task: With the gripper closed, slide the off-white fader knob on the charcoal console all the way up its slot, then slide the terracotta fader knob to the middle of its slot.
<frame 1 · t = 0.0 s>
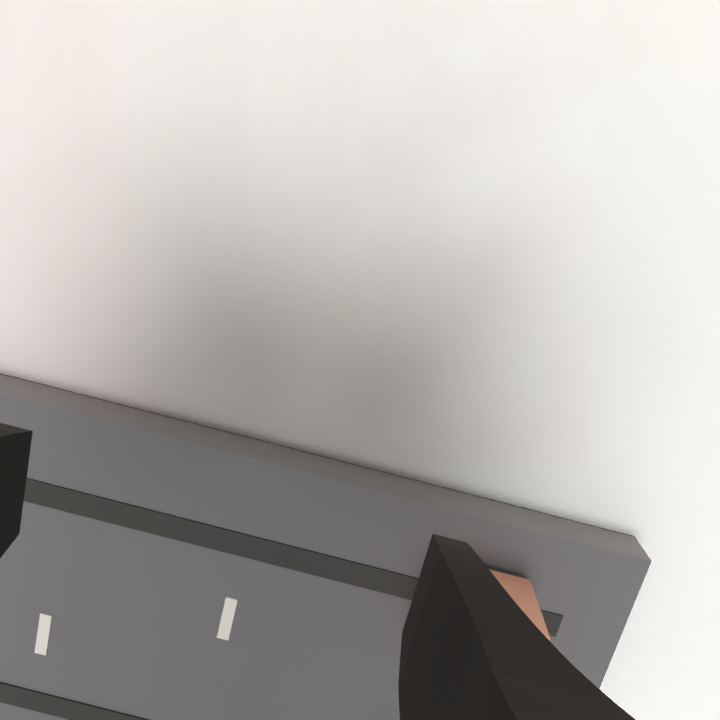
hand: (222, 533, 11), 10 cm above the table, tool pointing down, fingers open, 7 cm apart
console: (218, 616, 23), on the table
fader terracotta: (475, 638, 19), point 3 cm above the table, slide at 0.0 cm
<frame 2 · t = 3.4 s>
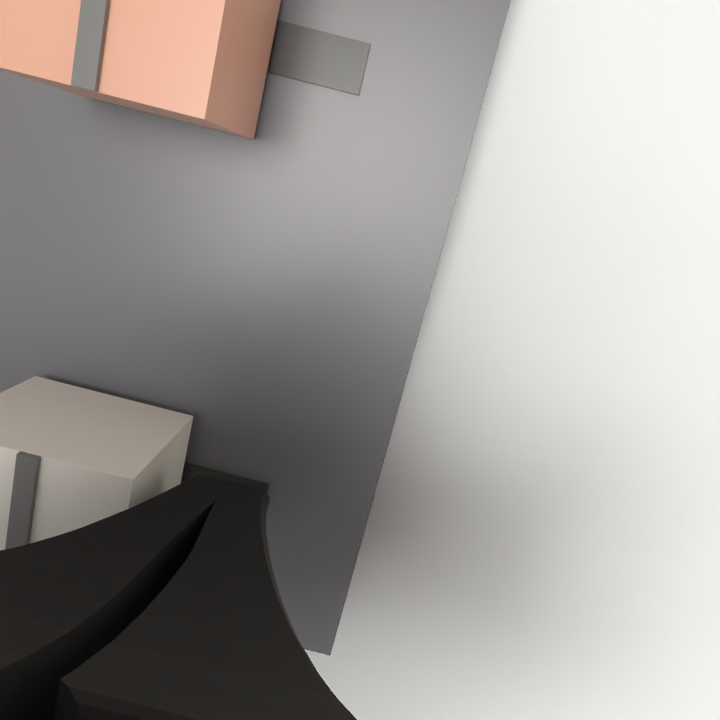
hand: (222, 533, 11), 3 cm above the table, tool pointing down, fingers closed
fader white: (64, 503, 11), point 3 cm above the table, slide at 0.1 cm, touching gripper
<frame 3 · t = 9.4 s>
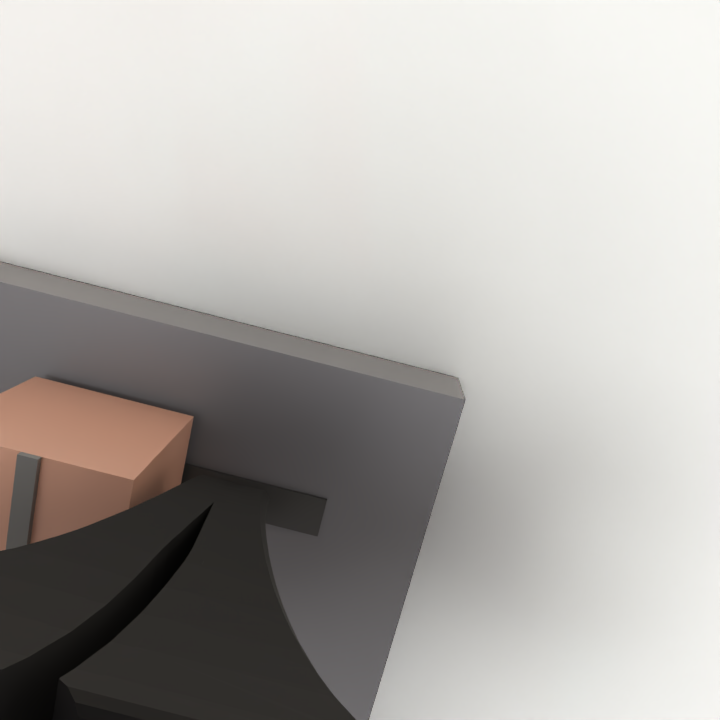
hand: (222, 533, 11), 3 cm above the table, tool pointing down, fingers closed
fader terracotta: (65, 504, 11), point 3 cm above the table, slide at 1.3 cm, touching gripper
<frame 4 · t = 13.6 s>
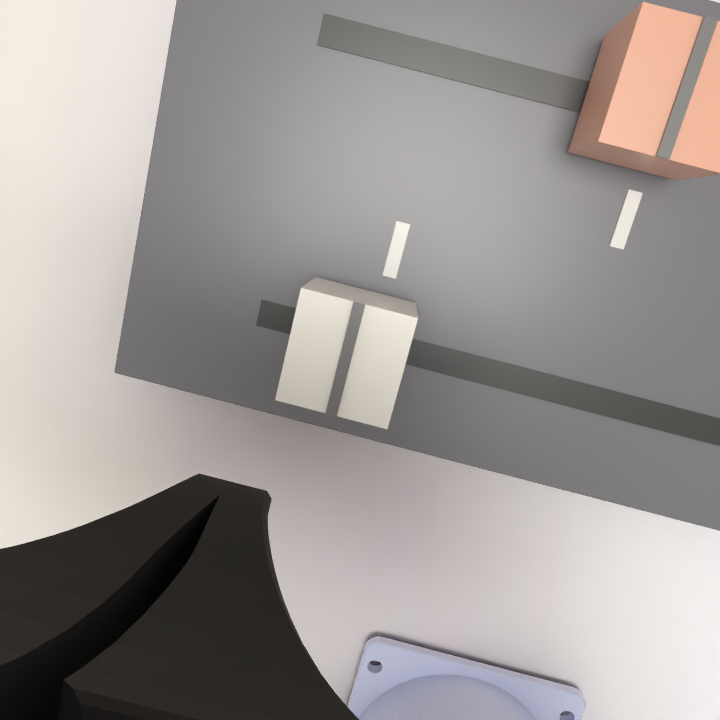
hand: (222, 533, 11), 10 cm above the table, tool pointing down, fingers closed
fader white: (349, 349, 18), point 3 cm above the table, slide at 14.1 cm
console: (580, 253, 20), on the table
fader terracotta: (661, 100, 16), point 3 cm above the table, slide at 8.2 cm
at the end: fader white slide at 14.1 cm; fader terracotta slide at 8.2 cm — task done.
